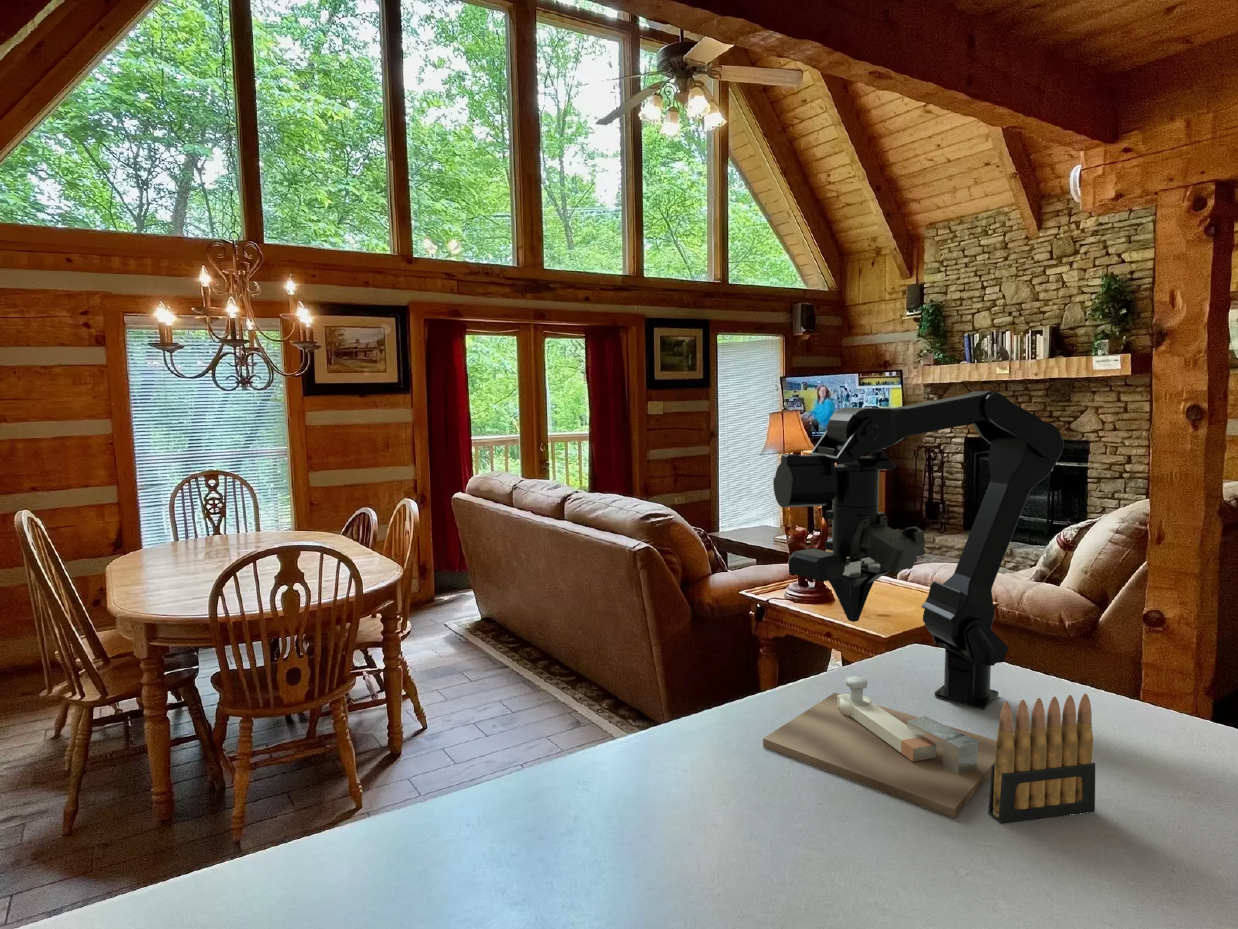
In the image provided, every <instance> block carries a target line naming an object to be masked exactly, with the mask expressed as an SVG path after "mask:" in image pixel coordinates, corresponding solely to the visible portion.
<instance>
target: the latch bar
mask: <svg viewBox="0 0 1238 929" xmlns="http://www.w3.org/2000/svg"><path fill="white" fill-rule="evenodd" d="M845 686H847V687H848V688H849V693H843V694H841V695H837V707H839V708H840V711H841V713H843V714H844V715H847V716H850V717H852V718H854V719H855V720H857V721H858V722H859V723H861V724H862V725H863V726H865V727H866V728H868V729H869V730H870V731H872V732H873V733H874V734H876V735H877V736H879V737H880V738H881V739H883V740H884V741H885V742H887V743H888V744H890V745H891V746H892V747H894V748H895V749H896V750H898V751H899V752H901V753H902V754H903V755H904V756H906V757H907V758H908V759H910V760H911V761H913V762H914V761H920V760H925V759H931V758H936V744H935V743H933V742H932V741H930V740H929V739H927V738H926V737H924V736H922V735H920V734H918V733H916V732H914V731H912V730H910V729H908V728H907V725H906V724H904V723H903V722H901V721H900V720H898V719H897V718H895V717H894V716H892V715H891V714H889V713H887V712H886V711H884V710H883V709H881V708H880V707H878V706H877V705H878V704H875V703H874V702H873V700H872V698H870V697H869V696H867V695H864V693H863V692H864V689H866V688H868V680H867V679H866V678H864V677H860V676H848V677H846V678H845Z"/></svg>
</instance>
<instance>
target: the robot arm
mask: <svg viewBox="0 0 1238 929" xmlns="http://www.w3.org/2000/svg"><path fill="white" fill-rule="evenodd" d="M968 425H973V427H974V428H975V430H976V432H977V433H978V435H979V437H981V438H982V439H983V440H984V441H986V442H987V443H988V444H990V447H989V451H988V456H987V460H988V466H989V473H990V480H989V483H988V485H987V488H986V491H985V492H984V496H983V499H982V501H981V504H980V506H979V509H978V511H977V514H976V515H975V519H974V521H973V524H972V526H971V529H970V532H969V534H968V537H967V539H966V541H965V544H964V547H963V550H962V552H961V554H960V557H959V560H958V563H957V566H956V567H955V570H954V572H953V574H952V576H950V577H949V578H948V579H947V580H945V582H943V583H941V582H938V581H936V580H935V581H933V582H932V583H931V584H930V587H929V591H928V595H927V598H925V599H926V600H925V601H924V602H923V604H922V605H921V608H922V609H924V610H923V615H922V621H923V623H924V625H925V628H926V629H927V631H928V632H929V633H930V635H931V637H932V640H933V643H934V644H935V645H936V646H940V647H941V648H943V649H945V650H944V677H943V678H944V679H943V680H944V681H943V683H944V684H943V685H941V687H939V688H938V689H937V690H935V692H934V696H935V697H937V698H940V699H944V700H947V701H951V702H954V703H959V704H962V705H966V706H970V707H974V708H977V709H981V710H984V709H986V708H987V707H988V706H989V705H990V704H992V703H993V701H994V700H996V698H997V697H998V696H999V691H998V690H995V689H991V673H992V671H991V669H992V666H993V667H994V666H995V665H996V664H1000V663H1005V661H1006V660H1005V659H1006V657H1007V654H1008V652H1009V646H1008V644H1006V643H1005V642H1004V641H1003V640H1002V639H1001V638H1000V637H999V636H998V635H997V634H996V633H995V632H994V630H992V627H993V624H994V618H995V616H996V615H995V612H996V611H995V606H994V605H995V604H994V599H993V598H994V597H993V592H992V591H993V587H994V583H995V580H996V578H997V575H998V574H999V571H1000V568H1001V565H1002V563H1003V560H1004V558H1005V556H1006V553H1007V550H1008V548H1009V545H1010V543H1011V540H1012V538H1013V536H1014V532H1015V530H1016V527H1017V524H1018V522H1019V519H1020V517H1021V515H1022V513H1023V510H1024V508H1025V505H1026V502H1027V499H1028V497H1029V494H1030V492H1031V491H1032V489H1033V488H1035V487H1036V486H1037V485H1039V483H1041V481H1043V480H1044V479H1045V478H1047V477H1048V476H1049V475H1050V474H1051V472H1052V470H1053V469H1054V467H1055V465H1056V464H1057V462H1058V460H1059V459H1060V456H1061V455H1062V452H1063V449H1064V446H1065V445H1064V444H1065V441H1064V438H1062V435H1061V432H1060V430H1059V428H1057V426H1055V425H1054V424H1052V423H1050V422H1046V421H1043V419H1041V418H1040V417H1039V416H1038V415H1036V414H1034V413H1032V412H1030V411H1028V410H1026V409H1024V408H1022V407H1021V406H1019V405H1017V404H1015V403H1013V402H1012V401H1011V400H1010V399H1008V398H1007V397H1006V396H1005V395H1003V394H1001V393H1000V392H998V391H993V390H992V391H991V390H989V391H988V390H986V391H985V390H983V391H980V390H979V391H971V392H968V393H966V394H963V395H957V396H951V397H946V398H942V399H941V398H940V399H935V400H929V401H924V402H919V403H914V404H913V403H912V404H908V405H904V406H902V405H901V406H898V407H892V408H891V407H842V408H839V409H837V410H835V411H833V412H832V415H831V416H830V418H829V420H828V421H827V426H826V430H825V432H824V433H823V434H822V436H821V437H820V439H819V440H818V442H817V443H816V444H815V446H814V447H813V449H812V450H811V452H810V453H809V454H794V453H783V454H781V455H780V463H779V465H778V466H777V468H776V471H775V474H774V477H773V492H774V493H773V494H774V497H775V500H776V502H777V504H778V505H779V506H780V507H781V508H800V507H802V508H803V507H804V508H805V507H820V506H821V507H823V506H827V505H828V504H829V503H830V501H832V505H831V506H832V509H830V510H825V513H824V514H825V519H826V520H831V524H832V525H831V526H832V527H831V539H830V540H826V541H824V549H825V550H822V549H818V548H815V547H814V548H807V549H806V548H805V549H801V550H796V551H793V552H792V553H791V555H790V556H788V573H789V574H793V575H797V576H800V577H804V578H808V579H810V580H811V579H812V580H814V581H818V582H829V584H830V586H831V587H832V589H833V591H834V593H835V596H836V597H837V599H838V602H839V603H840V605H841V607H842V611H843V613H844V614H845V616H846V620H848V622H852V623H855V622H858V621H859V620H860V618H861V615H862V612H863V609H864V606H865V605H866V601H867V599H868V596H869V594H870V591H871V589H872V587H873V585H874V584H875V582H876V581H877V580H878V579H880V578H882V576H884V575H886V574H888V573H889V572H890V573H899V571H901V570H902V571H903V570H906V569H907V570H911V569H913V568H914V564H915V563H917V561H918V557H920V556H924V555H925V554H926V550H925V546H926V542H925V539H926V538H925V531H924V530H923V529H921V528H919V527H918V526H910V527H905V529H903V530H901V529H900V528H896V529H893V528H891V527H889V526H888V516H887V515H886V512H880V511H879V500H880V498H879V493H880V492H879V491H880V489H879V488H880V471H882V470H883V471H884V470H885V471H886V470H895V469H896V464H895V463H894V462H893V461H892V460H890V459H889V458H888V456H886V454H885V452H884V451H882V450H884V449H888V448H890V447H892V446H894V445H896V444H898V443H899V442H900V441H902V440H903V439H906V438H908V437H911V436H916V435H922V434H927V433H931V432H937V431H942V430H947V429H952V428H957V427H962V426H968ZM867 454H868V455H867ZM864 455H867V456H864ZM836 463H837V464H836ZM826 550H829V551H826ZM831 551H832V552H831Z"/></svg>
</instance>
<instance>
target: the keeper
mask: <svg viewBox="0 0 1238 929" xmlns="http://www.w3.org/2000/svg"><path fill="white" fill-rule="evenodd" d="M948 726H949V725H946V726H945V724H943V723H942V722H939V721H937V720H935V719H933V718H931V717H929V716H926V715H923V716H920V717H919V718H916V719H913V720H909V721H907V728H908V729H910V730H912V731H914V732H916V733H918V734H920V735H922V736H924V737H926V738H928V739H930V740H932V741H933V742H935V743H937V744H939V745H941V746H943V767H945V768H946V769H948V770H950V771H952V772H954V773H956V774H958V775H959V774H962V773H965V772H967V771H970V770H973V769H976V768H977V755H978V741H977V740H975V739H973V738H971V737H969V736H966V735H964V734H962V733H960V732H958V731H956V730H954V729H952V728H950V727H951V726H950V727H948Z"/></svg>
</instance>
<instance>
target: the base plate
mask: <svg viewBox="0 0 1238 929" xmlns="http://www.w3.org/2000/svg"><path fill="white" fill-rule="evenodd" d="M837 695H842V694H841V693H838V692H833V693H832V694H830V695H828V696H827V697H826V698H824V699H823V700H821V701H819V702H818V703H816V704H814V705H813V706H812V707H810V708H808V709H807V710H806V711H804V712H802V713H801V714H799V715H798V716H795V717H793V719H791V720H789V721H788V722H786V723H784V724H783V725H782V726H780V727H779V728H777V729H775V730H774V731H771V733H769V734H767V735H766V736H765V737H763V738H762V746H763V748H765V749H769V750H771V751H774V752H776V753H780V754H783V755H785V756H788V757H789V758H793V759H795V760H798V761H800V762H803V763H806V764H808V765H810V766H814V767H817V768H819V769H821V770H824V771H827V772H830V773H832V774H835V775H837V776H839V777H843V778H845V779H848V780H851V781H854V782H855V783H859V784H862V785H865V786H866V787H869V788H872V789H874V790H877V791H880V792H883V793H885V794H887V795H891V796H893V797H895V798H898V799H901V800H904V801H907V802H909V803H912V804H914V805H917V806H919V807H922V808H925V809H927V810H929V811H932V812H935V813H938V814H941V815H943V816H946V817H948V818H952V819H953V820H954V819H956V817H957V816H958V815H959V814H960V813H961V811H962V810H963V809H964V808H965V807H966V806H967V804H968V803H969V801H970V800H971V799H972V798H973V797H974V796H975V795H976V793H977V792H978V791H979V789H980V788H981V787H982V786H983V785H984V784H985V782H986V781H987V780H988V779H989V777H991V769H992V765H995V752H996V740H997V739H993V738H990V737H986V736H983V735H980V734H976V733H974V732H970V731H967V730H964V729H960V728H956V727H953V726H949V725H945V724H944V725H945V726H948V727H950V728H952V729H954V730H956V731H958V732H960V733H962V734H964V735H966V736H969V737H971V738H973V739H975V740H977V741H978V755H977V768H976V769H973V770H970V771H967V772H965V773H962V774H959V775H958V774H956V773H954V772H952V771H950V770H948V769H946V768H945V767H943V746H941V745H939V744H937V743H935V742H933V741H932V740H930V739H929V740H930V741H932V742H933V743H935V744H936V758H931V759H925V760H920V761H914V762H913V761H911V760H910V759H908V758H907V757H906V756H904V755H903V754H902V753H901V752H899V751H898V750H896V749H895V748H894V747H892V746H891V745H890V744H888V743H887V742H885V741H884V740H883V739H881V738H880V737H879V736H877V735H876V734H874V733H873V732H872V731H870V730H869V729H868V728H866V727H865V726H863V725H862V724H861V723H859V722H858V721H857V720H855V719H854V718H852V717H850V716H847V715H844V714H843V713H841V711H840V708H839V707H837ZM876 705H877V706H878V707H880V708H881V709H883V710H884V711H886V712H887V713H889V714H891V715H892V716H894V717H895V718H897V719H898V720H900V721H901V722H903V723H904V724H906V725H907V721H909V720H913V719H916V718H920V717H918V716H915V715H912V714H909V713H905V712H902V711H899V710H895V709H892V708H888V707H885V706H882V705H878V704H876ZM927 739H928V738H927Z"/></svg>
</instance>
